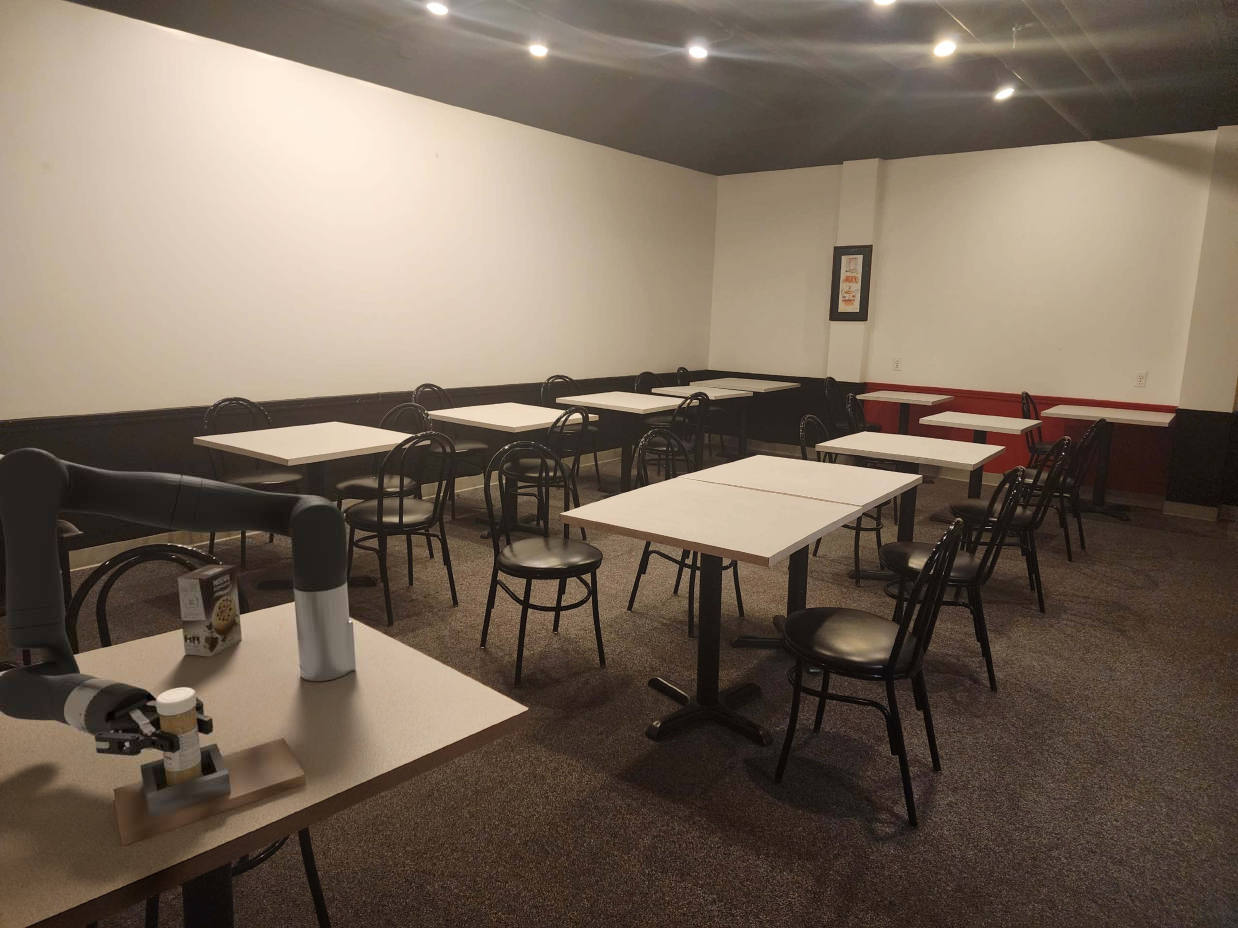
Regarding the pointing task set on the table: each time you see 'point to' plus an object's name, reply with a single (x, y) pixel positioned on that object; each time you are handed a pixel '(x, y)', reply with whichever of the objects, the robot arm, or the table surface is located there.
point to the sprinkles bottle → (180, 735)
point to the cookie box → (209, 609)
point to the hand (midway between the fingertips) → (193, 735)
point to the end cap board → (204, 788)
